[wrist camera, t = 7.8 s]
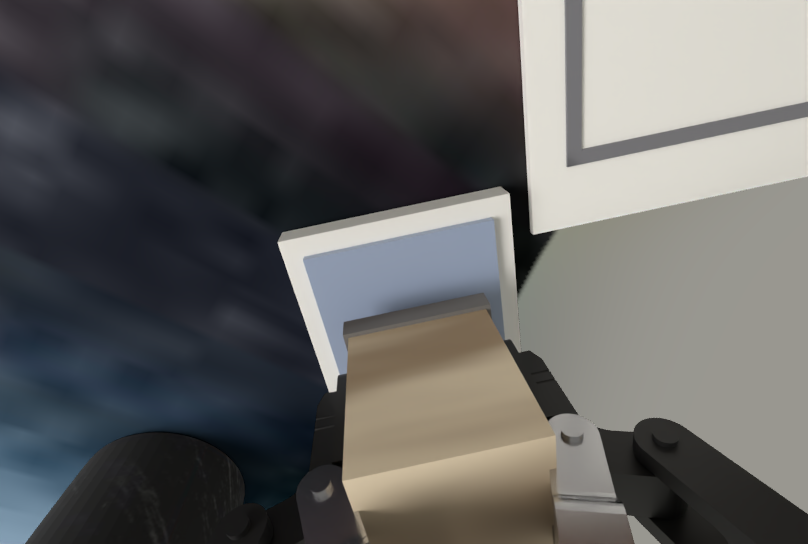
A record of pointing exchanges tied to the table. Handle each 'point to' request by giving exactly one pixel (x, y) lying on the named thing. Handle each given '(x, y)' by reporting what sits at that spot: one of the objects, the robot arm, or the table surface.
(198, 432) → the table surface
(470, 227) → the ink pad
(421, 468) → the stamp
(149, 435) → the travel mug
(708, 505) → the robot arm
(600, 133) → the sheet
